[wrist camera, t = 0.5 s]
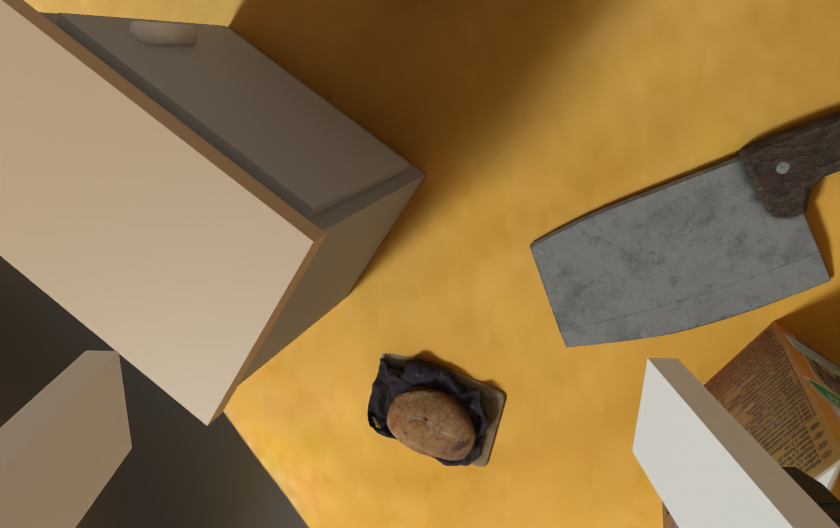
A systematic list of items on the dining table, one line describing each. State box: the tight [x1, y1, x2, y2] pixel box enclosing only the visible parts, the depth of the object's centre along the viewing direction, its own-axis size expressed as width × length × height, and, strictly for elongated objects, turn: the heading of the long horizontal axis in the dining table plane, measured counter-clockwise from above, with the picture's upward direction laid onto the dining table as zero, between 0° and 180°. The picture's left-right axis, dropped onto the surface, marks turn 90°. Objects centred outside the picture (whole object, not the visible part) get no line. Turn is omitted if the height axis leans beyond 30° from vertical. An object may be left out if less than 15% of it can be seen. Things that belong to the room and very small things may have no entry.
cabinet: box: [0, 0, 426, 425], centre depth 37 cm, size 14×19×17 cm
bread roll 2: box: [368, 353, 506, 467], centre depth 46 cm, size 11×8×4 cm
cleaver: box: [530, 111, 840, 347], centre depth 35 cm, size 29×10×2 cm, turn 120°
